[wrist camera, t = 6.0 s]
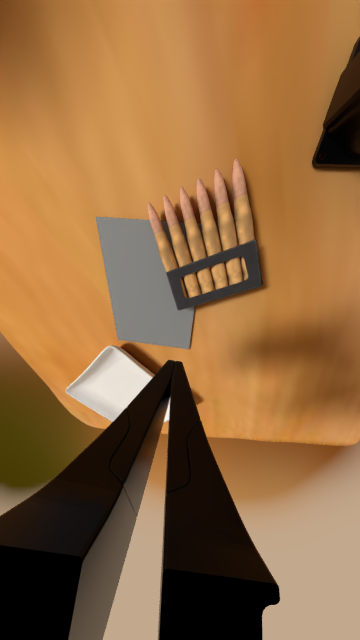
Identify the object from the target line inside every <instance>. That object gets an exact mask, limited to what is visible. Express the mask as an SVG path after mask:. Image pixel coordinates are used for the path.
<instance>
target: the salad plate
mask: <svg viewBox="0 0 360 640" xmlns="http://www.w3.org/2000/svg"><path fill="white" fill-rule="evenodd" d="M154 376H155V374H153V373H152V372H151V371H149V370H148V369H147V368H146V367H144V366H143V365H142V364H141V363H139V362H138V361H137V360H136V359H134V358H133V357H132V356H131V355H130V354H128V353H127V352H126V351H125V350H123V349H122V348H120V347H118V346H114V345H110V346H107V347H106V348H105V349H104V350H103V351H102V352H101V353H100V354H99V355H98V356H97V358H96V359H95V360H94V361H93V362H92V363H91V364H90V365H89V367H88V368H87V369H86V370H85V371H84V372H83V373H82V374H81V375H80V376H79V377H78V378H77V379H76V380H75V381H74V382H73V383H72V384H70V385H69V386H68V388H67V389H66V393H67V394H68V395H70V396H71V397H73V398H75V399H76V400H78V401H79V402H81V403H83V404H84V405H86V406H87V407H89V408H91V409H92V410H94V411H95V412H97V413H99V414H100V415H102V416H104V417H105V418H107V419H109V420H110V421H112V422H113V421H114V420H115V419H116V418H117V417H118V416H119V415H120V414H121V413H122V411H123V410H124V409H125V408H127V406H128V405H129V404H130V403H131V401H132V400H133V399H134V398H135V397H136V396H137V395H138V394H139V392H140V391H141V390H142V389H143V388H144V387H145V386H146V385H147V383H148V382H149V381H150V380H151V379H152V378H153V377H154ZM169 409H170V401H169V405H168V408H167V412H166V415H165V419H164V422H166V421H168V420H169ZM164 422H163V423H164Z"/></svg>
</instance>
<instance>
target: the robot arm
mask: <svg viewBox="0 0 360 640" xmlns="http://www.w3.org/2000/svg"><path fill="white" fill-rule="evenodd" d="M320 154H321V155H322V159H321V160H319V155H320ZM312 164H313V166H315V167H345V168H360V37H359V38H358V39H357V41H356V43H355V45H354V48H353V51H352V53H351V56H350V59H349V62H348V64H347V67H346V69H345V70H344V71H343V73H342V74H341V76H340V79H339V82H338V85H337V87H336V90H335V93H334V96H333V98H332V101H331V104H330V107H329V109H328V112H327V115H326V118H325V120H324V123H323V132H322V135H321V138H320V140H319V143H318V146H317V148H316V151H315V154H314V157H313V160H312ZM169 401H170V409H169V429H168V450H167V469H166V489H165V508H164V528H163V548H162V569H161V588H160V589H161V590H160V609H159V627H158V628H159V629H158V640H262V613H263V610H264V609H265V607H267V606H269V605H276V604H277V603H279V601H280V597H279V596H280V595H279V586H278V585H277V583H276V581H275V580H274V578H273V576H272V575H271V573H270V571H269V570H268V568H267V566H266V564H265V563H264V561H263V559H262V558H261V556H260V554H259V553H258V551H257V549H256V547H255V546H254V544H253V542H252V540H251V538H250V536H249V534H248V532H247V530H246V528H245V526H244V524H243V522H242V520H241V517H240V516H239V513H238V511H237V509H236V506H235V504H234V502H233V499H232V497H231V495H230V493H229V490H228V488H227V486H226V483H225V481H224V479H223V476H222V474H221V472H220V469H219V467H218V465H217V463H216V460H215V458H214V455H213V453H212V451H211V448H210V445H209V443H208V440H207V437H206V434H205V431H204V428H203V425H202V422H201V420H200V416H199V413H198V410H197V407H196V404H195V401H194V397H193V394H192V391H191V388H190V385H189V382H188V379H187V376H186V373H185V369H184V366H183V363H182V362H180V361H173V360H168V361H167V362H166V363H165V364H164V365H163V367H162V368H161V369H160V370H159V371H158V372H157V373H156V374H155V376H154V377H153V378H152V379H151V380H150V381H149V382H148V383H147V385H146V386H145V387H144V388H143V389H142V390H141V391H140V392H139V394H138V395H137V396H136V397H135V398H134V399H133V400H132V401H131V403H130V404H129V405H128V406H127V408H125V409H124V410H123V411H122V413H121V414H120V415H119V416H118V417H117V418H116V419H115V420H114V421H113V422H112V423H111V424H110V425H109V426H108V427H107V428H106V429H105V430H104V431H103V432H102V434H100V435H99V436H98V437H97V438H96V439H95V440H94V441H93V442H92V443H91V444H90V445H89V446H88V447H87V448H86V449H85V450H84V451H83V452H81V453H80V454H79V455H78V456H77V457H76V458H75V459H74V460H73V461H72V462H71V463H70V464H69V465H68V466H67V467H66V468H65V469H63V470H62V471H61V472H60V473H59V474H58V475H57V476H56V477H55V478H54V479H52V480H51V481H50V482H49V483H48V484H46V485H45V486H44V487H43V488H41V489H40V490H39V491H37V492H36V493H35V494H33V495H32V496H30V497H29V498H27V499H26V500H24V501H23V502H21V503H20V504H18V505H17V506H15V507H13V508H12V509H10V510H9V511H7V512H6V513H4V514H3V515H1V516H0V640H102V639H103V635H104V632H105V629H106V625H107V622H108V618H109V615H110V611H111V607H112V603H113V600H114V597H115V593H116V590H117V586H118V583H119V579H120V575H121V572H122V568H123V565H124V561H125V557H126V554H127V550H128V547H129V543H130V540H131V536H132V532H133V529H134V526H135V522H136V517H137V515H138V511H139V508H140V504H141V500H142V497H143V493H144V490H145V486H146V483H147V479H148V476H149V472H150V469H151V465H152V462H153V458H154V454H155V450H156V447H157V443H158V440H159V436H160V433H161V430H162V426H163V422H164V419H165V415H166V412H167V408H168V405H169Z"/></svg>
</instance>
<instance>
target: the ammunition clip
mask: <svg viewBox="0 0 360 640" xmlns="http://www.w3.org/2000/svg"><path fill="white" fill-rule="evenodd" d="M232 185H233V197H234V209H235V215H234V219H233V216H232V213H231V209H230V204H229V201H228V195H227V190H226V186H225V183H224V180H223V177H222V175H221V173H220V171H219V170H218V169H216V170H215V175H214V192H215V201H216V207H217V215H218V229H219V234H218V229H217V225H216V223H215V220H214V217H213V213H212V210H211V206H210V201H209V198H208V194H207V191H206V189H205V187H204V184H203V182H202V181H201V179H200V178H198V179H197V201H198V207H199V212H200V218H201V224H202V234H203V239H204V243H205V247H206V251H205V247H204V243H203V239H202V235H201V232H200V230H199V227H198V225H197V221H196V218H195V215H194V211H193V208H192V205H191V202H190V199H189V197H188V195H187V193H186V191H185V190H184V188H183V187H182V186H181V187H180V203H181V210H182V215H183V218H184V224H185V228H186V234H187V241H188V244H189V248H190V251H191V255H192V259H193V262H192V260H191V256H190V253H189V249H188V246H187V242H186V239H185V237H184V235H183V233H182V230H181V227H180V225H179V222H178V218H177V215H176V213H175V210H174V208H173V206H172V204H171V202H170V200H169V199H168V197H167V196H166V195H164V210H165V215H166V220H167V223H168V227H169V231H170V235H171V239H172V245H173V249H174V252H175V255H176V258H177V261H178V264H179V267H178V265H177V262H176V259H175V256H174V253H173V250H172V247H171V244H170V243H169V241H168V239H167V236H166V234H165V231H164V229H163V226H162V223H161V221H160V219H159V216H158V214H157V212H156V211H155V209H154V207H153V206H152V205H151V204H150V203H148V213H149V218H150V222H151V226H152V229H153V232H154V236H155V239H156V242H157V247H158V251H159V254H160V257H161V260H162V262H163V265H164V268H165V271H166V275H167V278H168V281H169V284H170V287H171V290H172V293H173V297H174V300H175V303H176V306H177V309H178V311H179V310H183V309H186V308H189V307H193V306H196V305H200V304H203V303H206V302H210V301H213V300H216V299H220V298H223V297H227V296H230V295H233V294H237V293H240V292H243V291H247V290H250V289H254V288H257V287H260V286H262V285H263V282H262V275H261V268H260V262H259V255H258V248H257V242H256V239H255V238H254V229H253V220H252V212H251V208H250V205H249V200H248V194H247V188H246V182H245V177H244V173H243V170H242V167H241V165H240V163H239V161H238V160H237V159H235V161H234V165H233V176H232ZM234 220H235V224H234ZM235 227H236V230H235ZM236 234H237V237H236ZM219 235H220V239H219ZM220 240H221V244H220ZM237 242H238V243H237ZM221 245H222V249H221ZM206 252H207V255H206ZM224 262H225V264H224ZM225 267H226V269H225ZM210 269H211V272H210ZM195 272H196V273H197V277H198V280H197V277H196V273H195ZM226 272H227V274H226ZM211 273H212V276H211ZM182 277H183V280H184V283H185V286H186V289H187V292H188V295H187V292H186V289H185V286H184V283H183V280H182ZM227 277H228V279H227ZM212 278H213V280H212ZM198 281H199V284H200V287H199V284H198ZM213 282H214V284H213ZM200 288H201V291H200Z"/></svg>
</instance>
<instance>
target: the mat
mask: <svg viewBox="0 0 360 640" xmlns="http://www.w3.org/2000/svg"><path fill="white" fill-rule="evenodd" d="M96 221H97V227H98V232H99V238H100V243H101V249H102V254H103V260H104V265H105V271H106V276H107V282H108V287H109V293H110V298H111V304H112V309H113V315H114V320H115V326H116V331H117V337H118V340H124V341H132V342H139V343H147V344H154V345H162V346H169V347H177V348H184V349H189V346H190V338H191V331H192V323H193V315H194V307H195V306H193V307H189V308H186V309H183V310H179V311H178V309H177V306H176V303H175V300H174V297H173V293H172V290H171V287H170V284H169V281H168V278H167V275H166V271H165V268H164V265H163V262H162V260H161V257H160V254H159V251H158V247H157V242H156V239H155V236H154V232H153V229H152V226H151V222H150V220H139V219H124V218H108V217H96ZM161 223H162V226H163V229H164V231H165V234H166V236H167V239H168V241H169V243H170V244H171V247H172V250H173V253H174V256H175V259H176V262H177V265H178V267H179V264H178V261H177V258H176V255H175V252H174V249H173V245H172V239H171V235H170V231H169V227H168V223H167V221H161ZM179 225H180V227H181V230H182V233H183V235H184V237H185V239H186V242H187V246H188V249H189V253H190V256H191V260H192V262H193V259H192V255H191V251H190V248H189V244H188V241H187V234H186V228H185V224H184V222H179ZM197 225H198V227H199V230H200V232H201V235H202V239H203V234H202V224H201V223H197ZM195 273H196V272H195ZM196 277H197V273H196ZM182 280H183V277H182ZM197 280H198V277H197ZM183 283H184V280H183ZM184 286H185V283H184ZM185 289H186V286H185ZM186 292H187V289H186ZM187 295H188V292H187Z"/></svg>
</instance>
